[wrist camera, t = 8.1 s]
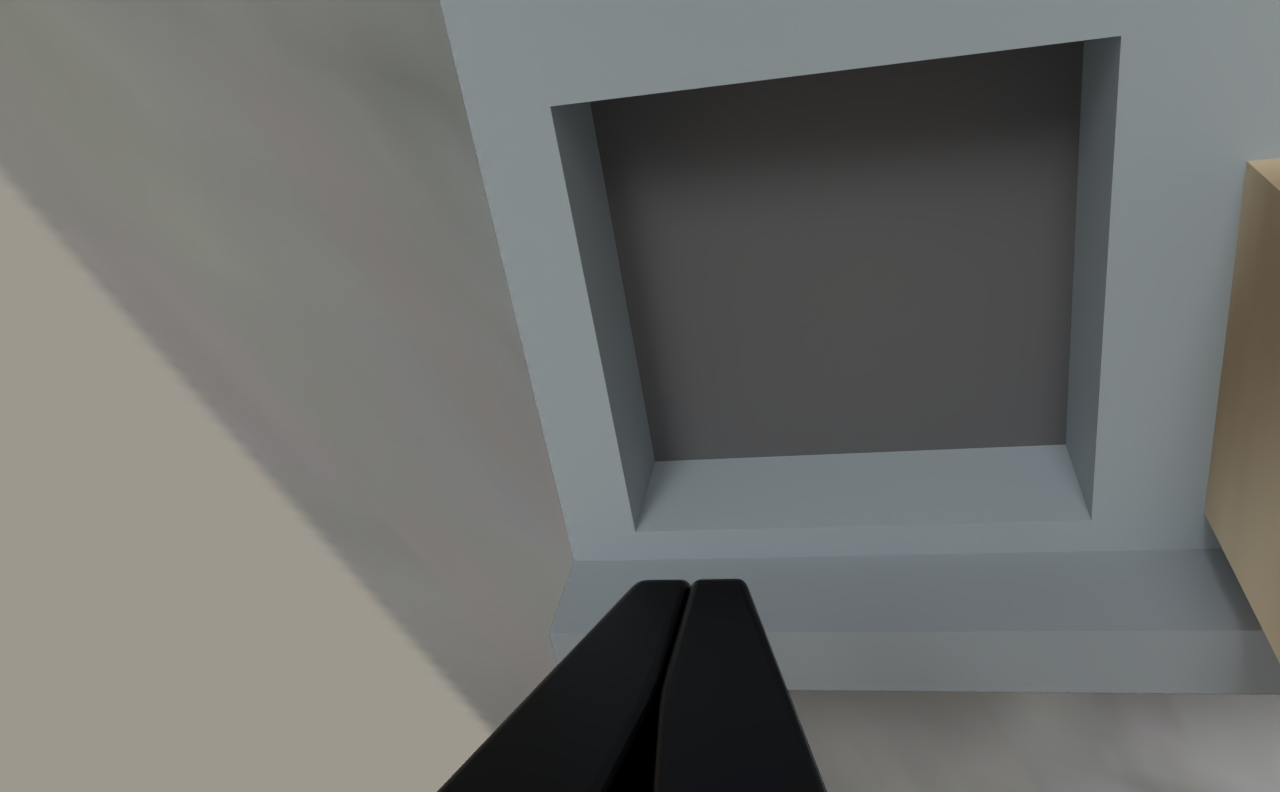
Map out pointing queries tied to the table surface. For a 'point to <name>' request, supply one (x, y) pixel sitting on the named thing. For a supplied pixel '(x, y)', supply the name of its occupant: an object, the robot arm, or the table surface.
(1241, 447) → the block
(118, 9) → the table surface
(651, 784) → the robot arm
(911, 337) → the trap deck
